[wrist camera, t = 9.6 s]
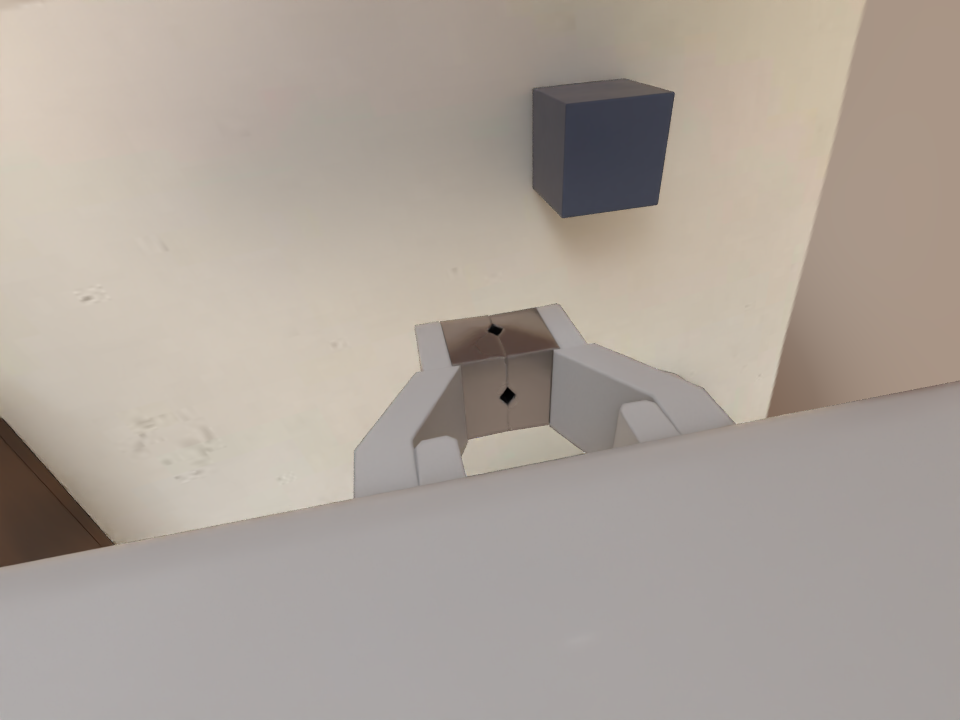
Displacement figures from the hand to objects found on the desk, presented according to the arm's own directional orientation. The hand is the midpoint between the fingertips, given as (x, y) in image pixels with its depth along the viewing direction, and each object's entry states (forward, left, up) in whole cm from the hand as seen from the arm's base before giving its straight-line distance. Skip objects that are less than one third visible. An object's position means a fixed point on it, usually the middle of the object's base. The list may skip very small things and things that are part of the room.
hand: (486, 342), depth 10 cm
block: (0, +8, -16) cm, 18 cm away
